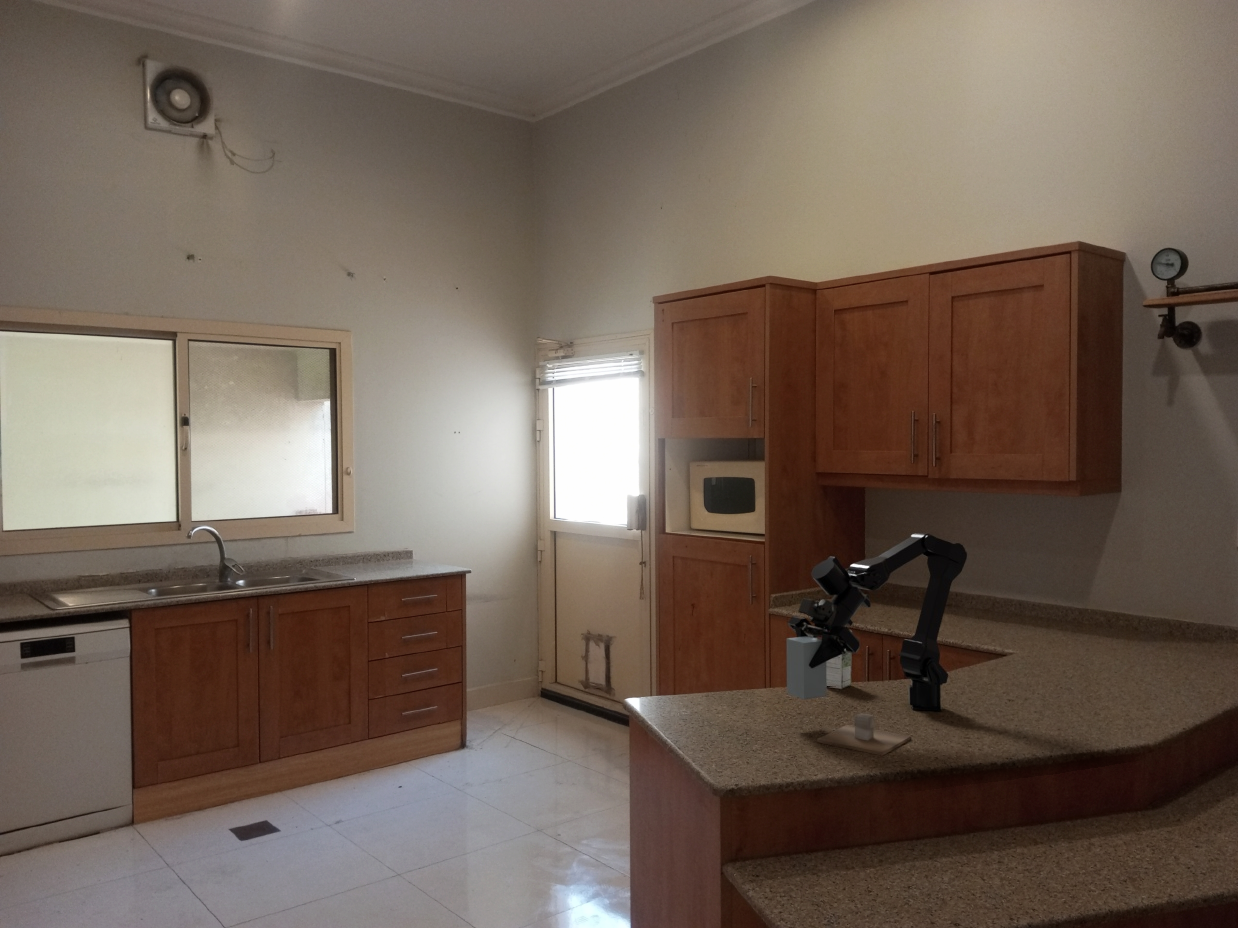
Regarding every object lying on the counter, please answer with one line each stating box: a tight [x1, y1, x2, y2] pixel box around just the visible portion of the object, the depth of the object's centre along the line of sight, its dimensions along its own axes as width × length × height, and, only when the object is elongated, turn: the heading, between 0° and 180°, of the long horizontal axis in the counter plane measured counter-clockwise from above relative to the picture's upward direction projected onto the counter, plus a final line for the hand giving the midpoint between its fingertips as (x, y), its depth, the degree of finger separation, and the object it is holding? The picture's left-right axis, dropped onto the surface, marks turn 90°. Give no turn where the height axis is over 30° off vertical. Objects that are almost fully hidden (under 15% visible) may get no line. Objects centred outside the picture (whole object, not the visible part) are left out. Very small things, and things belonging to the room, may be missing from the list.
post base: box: [816, 713, 912, 756], centre depth 189 cm, size 14×14×5 cm
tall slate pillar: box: [786, 636, 828, 700], centre depth 200 cm, size 6×6×12 cm
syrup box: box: [826, 630, 853, 690], centre depth 237 cm, size 6×6×14 cm
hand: (801, 664), depth 199 cm, fingers closed on tall slate pillar, 6 cm apart
